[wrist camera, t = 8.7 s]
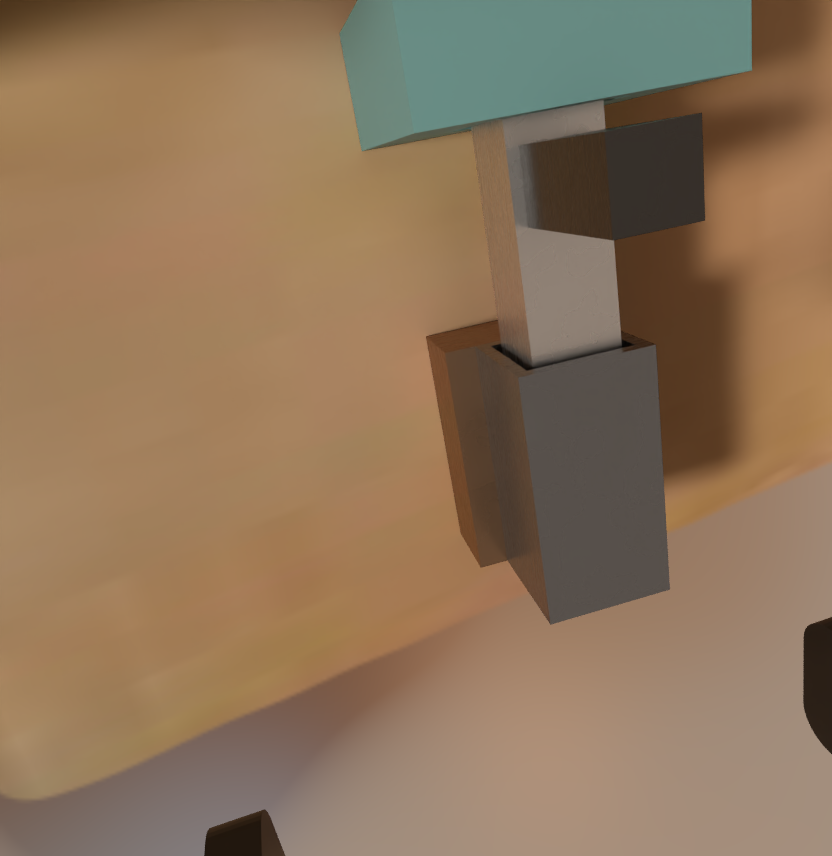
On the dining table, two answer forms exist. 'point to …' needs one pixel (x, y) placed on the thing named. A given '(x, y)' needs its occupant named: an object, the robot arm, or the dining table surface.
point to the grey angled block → (576, 219)
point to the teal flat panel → (526, 57)
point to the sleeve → (557, 468)
